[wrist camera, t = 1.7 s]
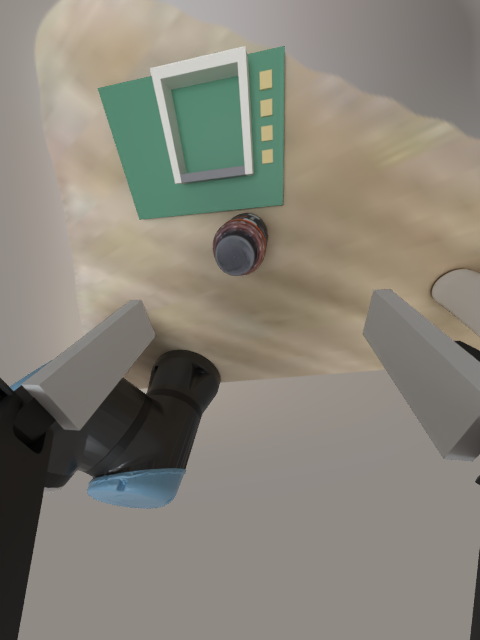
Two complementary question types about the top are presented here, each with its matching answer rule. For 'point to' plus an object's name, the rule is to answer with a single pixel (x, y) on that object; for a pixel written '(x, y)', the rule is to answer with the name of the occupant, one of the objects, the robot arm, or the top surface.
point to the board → (202, 133)
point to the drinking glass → (460, 296)
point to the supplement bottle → (240, 244)
